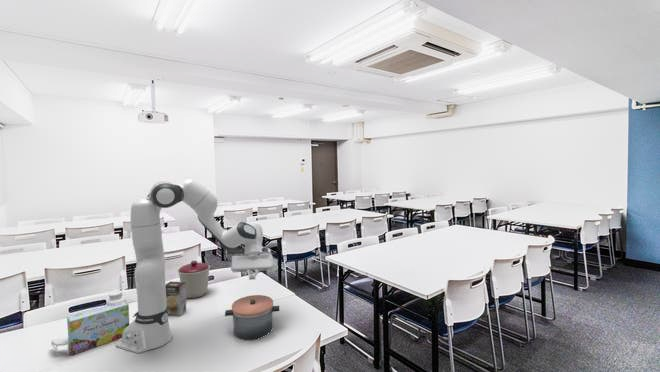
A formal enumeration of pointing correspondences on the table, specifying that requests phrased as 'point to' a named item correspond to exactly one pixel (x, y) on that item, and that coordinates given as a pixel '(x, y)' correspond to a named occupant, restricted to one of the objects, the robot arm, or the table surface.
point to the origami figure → (60, 343)
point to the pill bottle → (115, 298)
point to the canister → (195, 278)
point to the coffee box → (176, 298)
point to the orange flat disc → (252, 305)
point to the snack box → (97, 327)
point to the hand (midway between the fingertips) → (252, 279)
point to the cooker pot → (252, 324)
